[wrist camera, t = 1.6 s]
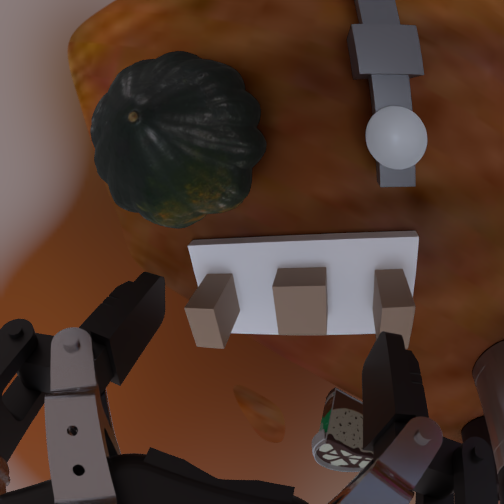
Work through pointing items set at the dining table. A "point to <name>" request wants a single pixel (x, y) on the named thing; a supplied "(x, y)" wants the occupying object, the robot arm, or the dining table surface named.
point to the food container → (341, 434)
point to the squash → (177, 138)
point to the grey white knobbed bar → (389, 89)
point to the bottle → (480, 430)
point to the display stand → (303, 285)
